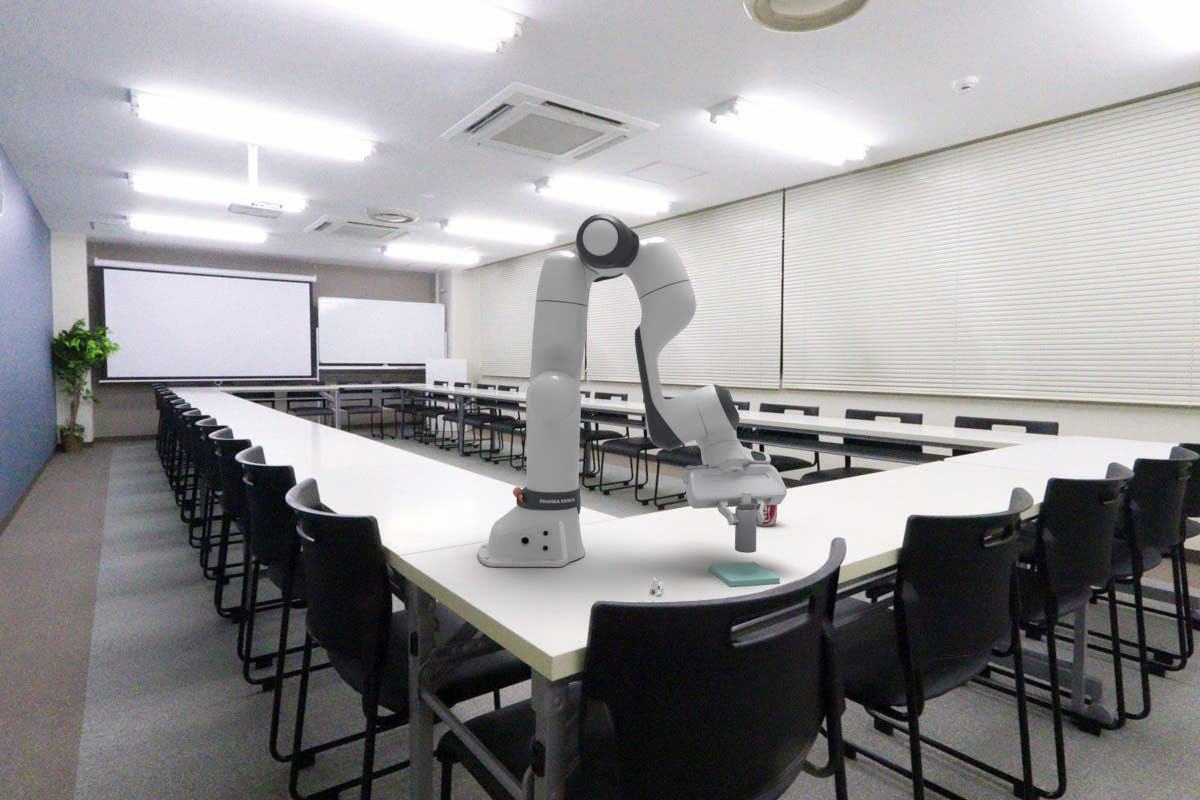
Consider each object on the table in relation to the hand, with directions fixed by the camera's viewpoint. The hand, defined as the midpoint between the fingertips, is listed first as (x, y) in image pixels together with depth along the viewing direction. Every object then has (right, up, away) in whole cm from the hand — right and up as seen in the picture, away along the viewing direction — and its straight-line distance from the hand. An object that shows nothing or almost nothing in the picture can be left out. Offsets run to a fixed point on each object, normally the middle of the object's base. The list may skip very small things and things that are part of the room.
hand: (747, 523), depth 121 cm
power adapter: (-17, -11, -8) cm, 22 cm away
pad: (-1, -11, +1) cm, 11 cm away
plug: (0, -5, +1) cm, 5 cm away
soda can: (+14, -9, +43) cm, 46 cm away
